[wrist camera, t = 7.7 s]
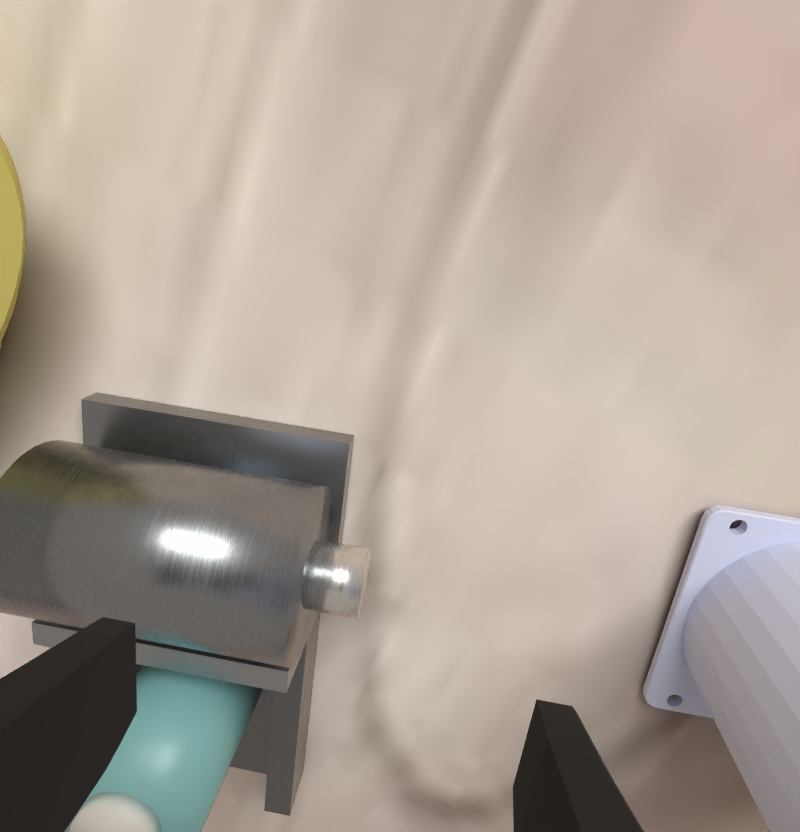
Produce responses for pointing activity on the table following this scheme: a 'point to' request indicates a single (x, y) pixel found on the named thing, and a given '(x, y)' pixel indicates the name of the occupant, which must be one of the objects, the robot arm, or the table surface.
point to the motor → (191, 553)
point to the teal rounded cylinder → (170, 755)
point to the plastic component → (10, 237)
